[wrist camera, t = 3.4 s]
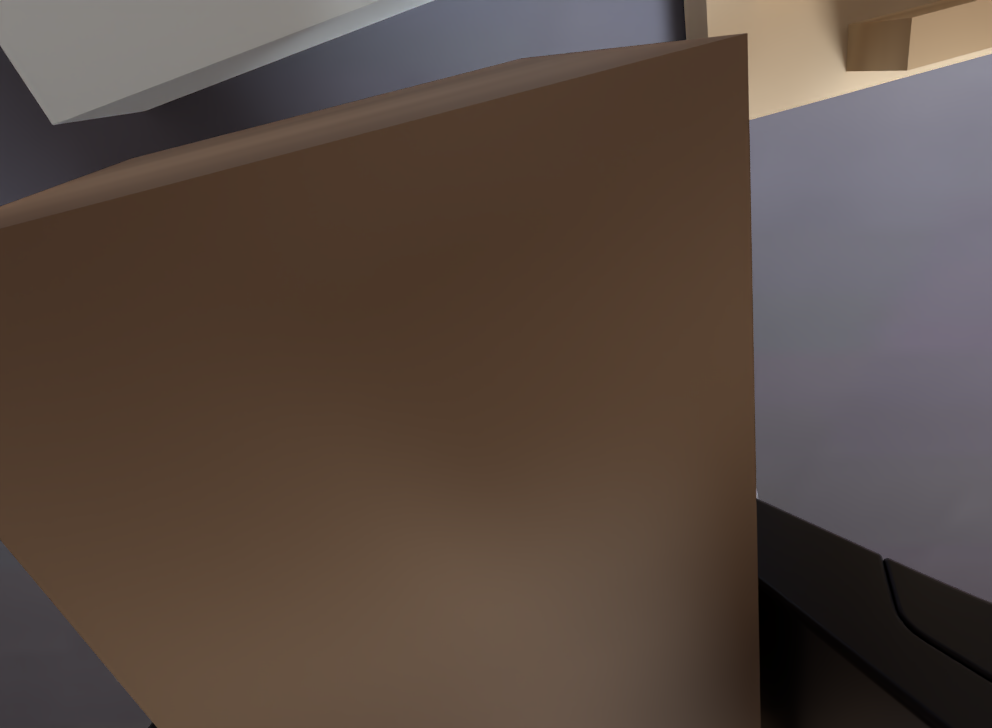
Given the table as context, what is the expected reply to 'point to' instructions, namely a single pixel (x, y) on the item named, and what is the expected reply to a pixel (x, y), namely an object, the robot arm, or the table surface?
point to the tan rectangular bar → (405, 405)
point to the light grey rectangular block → (161, 45)
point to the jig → (840, 42)
